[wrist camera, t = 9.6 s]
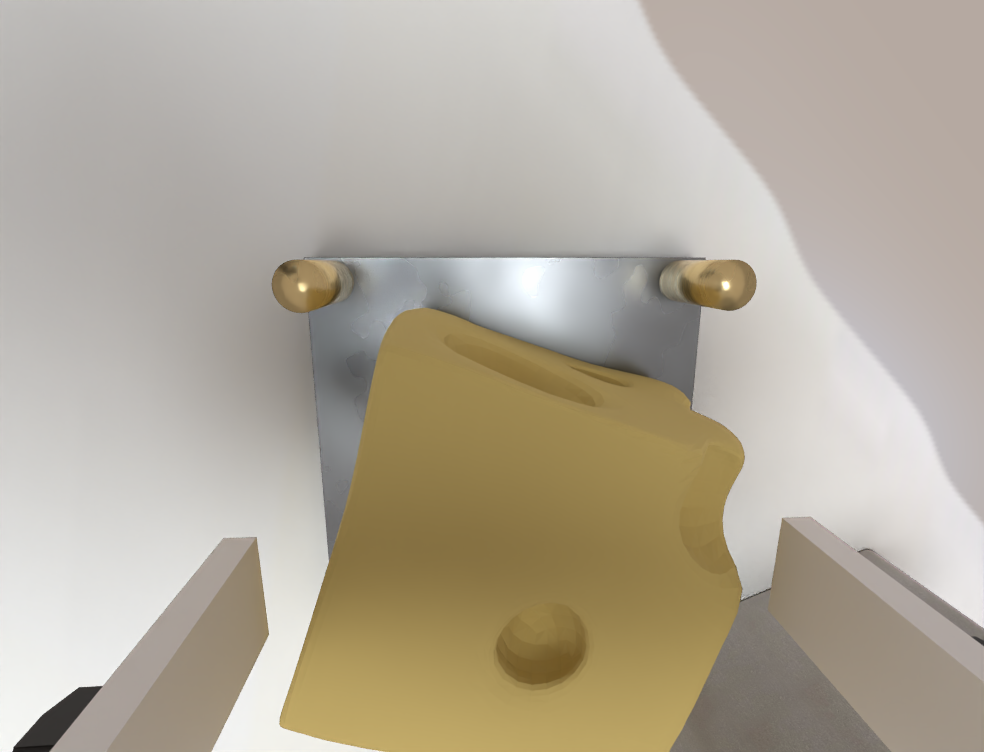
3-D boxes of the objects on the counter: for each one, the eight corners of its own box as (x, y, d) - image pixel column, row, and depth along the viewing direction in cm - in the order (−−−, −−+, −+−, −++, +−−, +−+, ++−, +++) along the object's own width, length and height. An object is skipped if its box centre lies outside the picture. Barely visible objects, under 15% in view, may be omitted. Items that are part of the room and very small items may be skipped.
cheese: (660, 376, 21) (836, 479, 11) (566, 593, 23) (644, 842, 13) (419, 293, 19) (375, 324, 10) (343, 531, 21) (243, 757, 12)
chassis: (313, 257, 20) (262, 256, 15) (692, 258, 21) (765, 256, 16) (341, 611, 24) (307, 707, 19) (661, 599, 24) (713, 687, 19)
